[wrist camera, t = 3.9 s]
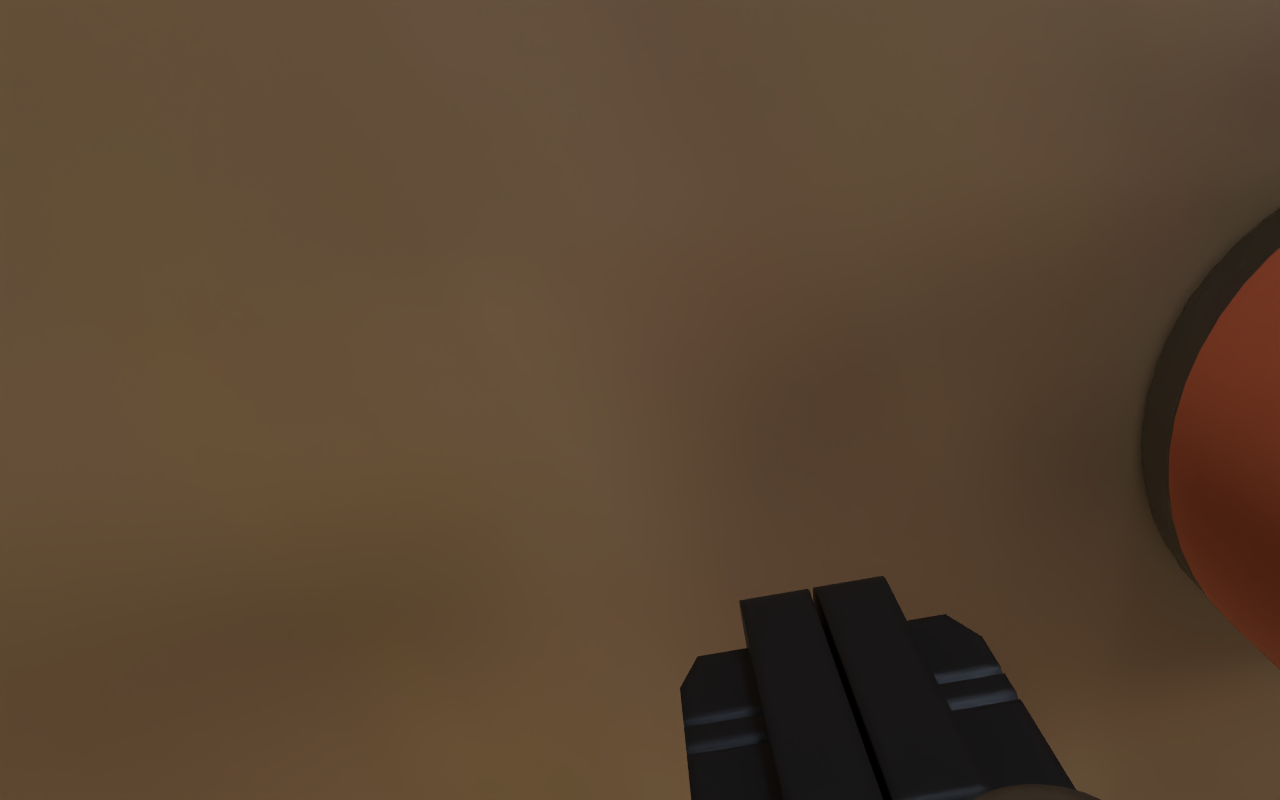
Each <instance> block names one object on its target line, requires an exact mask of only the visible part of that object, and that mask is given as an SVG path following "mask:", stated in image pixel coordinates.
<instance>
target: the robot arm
mask: <svg viewBox="0 0 1280 800" xmlns="http://www.w3.org/2000/svg"><path fill="white" fill-rule="evenodd" d="M813 601H814V603H813ZM739 602H740V609H741V616H742V622H743V628H744V634H745V640H746V645H747V648H745V649H740V650H734V651H728V652H722V653H716V654H710V655H704V656H698V657H697V659H696V660H695V662H694V664H693V666H692V668H691V669H690V671H689V673H688V675H687V677H686V678H685V680H684V682H683V684H682V686H681V687H680V692H681V702H682V712H683V721H684V731H685V741H686V750H687V761H688V771H689V781H690V790H691V800H1100V799H1098V798H1096V797H1094V796H1091V795H1089V794H1086V793H1084V792H1081V791H1077V790H1076V789H1075V787H1074V785H1073V784H1072V782H1071V781H1070V779H1069V777H1068V776H1067V774H1066V772H1065V771H1064V769H1063V768H1062V766H1061V764H1060V763H1059V761H1058V759H1057V758H1056V756H1055V755H1054V753H1053V751H1052V750H1051V748H1050V746H1049V745H1048V743H1047V742H1046V740H1045V738H1044V737H1043V735H1042V733H1041V732H1040V730H1039V729H1038V727H1037V725H1036V724H1035V722H1034V720H1033V719H1032V717H1031V716H1030V714H1029V712H1028V711H1027V709H1026V707H1025V706H1024V704H1023V703H1022V701H1021V699H1019V700H1018V698H1017V693H1016V691H1015V690H1014V688H1013V686H1012V685H1011V683H1010V681H1009V680H1008V678H1007V677H1006V675H1005V673H1004V674H1002V671H1001V667H1000V665H999V664H998V662H997V660H996V659H995V657H994V655H993V654H992V652H991V651H990V649H989V647H988V646H987V644H986V642H985V641H984V639H983V638H982V636H980V635H978V634H977V633H975V632H973V631H972V630H970V629H969V628H967V627H965V626H964V625H962V624H960V623H959V622H957V621H956V620H954V619H952V618H951V617H949V616H947V615H946V614H944V615H938V616H932V617H926V618H921V619H915V620H909V621H907V620H906V618H905V616H904V614H903V612H902V610H901V608H900V606H899V604H898V602H897V600H896V598H895V596H894V594H893V592H892V590H891V588H890V586H889V584H888V582H887V581H886V579H885V578H884V576H879V577H873V578H867V579H861V580H855V581H850V582H844V583H838V584H832V585H826V586H820V587H815V588H813V600H812V597H811V594H810V592H809V590H808V589H804V590H798V591H793V592H787V593H781V594H775V595H769V596H763V597H758V598H752V599H746V600H740V601H739Z"/></svg>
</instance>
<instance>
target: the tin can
mask: <svg viewBox="0 0 1280 800" xmlns="http://www.w3.org/2000/svg"><path fill="white" fill-rule="evenodd" d="M1142 465H1143V473H1144V480H1145V488H1146V494H1147V497H1148V501H1149V504H1150V507H1151V511H1152V514H1153V518H1154V521H1155V523H1156V525H1157V527H1158V529H1159V532H1160V534H1161V536H1162V538H1163V540H1164V542H1165V545H1166V546H1167V548H1168V549H1169V551H1170V552H1171V554H1172V555H1173V557H1174V558H1175V560H1176V561H1177V563H1178V564H1179V566H1180V567H1181V569H1182V570H1183V571H1184V572H1185V573H1186V574H1187V575H1188V576H1189V577H1190V579H1191V580H1192V581H1193V582H1194V583H1195V584H1196V585H1197V586H1198V587H1199V588H1200V589H1201V590H1202V591H1203V592H1204V593H1205V594H1206V595H1207V597H1208V598H1209V600H1210V601H1211V602H1212V603H1213V605H1214V606H1215V607H1216V608H1217V609H1218V610H1219V611H1220V612H1221V613H1222V614H1223V615H1224V616H1225V617H1226V619H1227V620H1228V621H1229V622H1230V623H1231V624H1232V625H1233V626H1234V627H1235V628H1237V629H1238V630H1239V631H1240V632H1241V633H1242V634H1243V635H1244V636H1245V637H1246V638H1247V639H1248V640H1249V641H1250V642H1251V643H1252V644H1253V645H1254V646H1256V647H1257V648H1258V649H1259V650H1260V651H1261V652H1262V653H1263V654H1264V655H1265V656H1266V657H1267V658H1268V659H1269V660H1270V661H1271V662H1272V663H1273V664H1275V665H1276V666H1277V667H1278V668H1279V669H1280V209H1279V210H1278V211H1276V212H1275V213H1273V214H1272V215H1270V216H1269V217H1268V218H1266V219H1265V220H1263V221H1262V222H1261V223H1260V224H1259V225H1258V226H1256V227H1255V228H1254V229H1253V230H1252V231H1251V232H1249V233H1248V234H1247V235H1246V236H1245V237H1244V238H1242V239H1241V240H1240V241H1239V242H1238V243H1237V244H1235V246H1234V247H1233V248H1232V249H1231V250H1230V251H1229V252H1228V253H1227V254H1226V255H1225V256H1224V257H1223V258H1222V259H1221V261H1220V262H1219V263H1218V264H1217V265H1216V266H1215V267H1214V268H1213V269H1212V270H1211V271H1210V272H1209V274H1208V275H1207V277H1206V278H1205V279H1204V281H1203V282H1202V283H1201V285H1200V286H1199V287H1198V289H1197V290H1196V291H1195V293H1194V294H1193V295H1192V297H1191V298H1190V300H1189V301H1188V302H1187V304H1186V306H1185V308H1184V309H1183V311H1182V313H1181V314H1180V316H1179V318H1178V320H1177V321H1176V323H1175V325H1174V327H1173V328H1172V330H1171V332H1170V334H1169V336H1168V339H1167V341H1166V343H1165V346H1164V348H1163V350H1162V353H1161V355H1160V357H1159V360H1158V362H1157V364H1156V368H1155V371H1154V375H1153V378H1152V382H1151V385H1150V389H1149V392H1148V395H1147V401H1146V407H1145V414H1144V421H1143V427H1142Z"/></svg>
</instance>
